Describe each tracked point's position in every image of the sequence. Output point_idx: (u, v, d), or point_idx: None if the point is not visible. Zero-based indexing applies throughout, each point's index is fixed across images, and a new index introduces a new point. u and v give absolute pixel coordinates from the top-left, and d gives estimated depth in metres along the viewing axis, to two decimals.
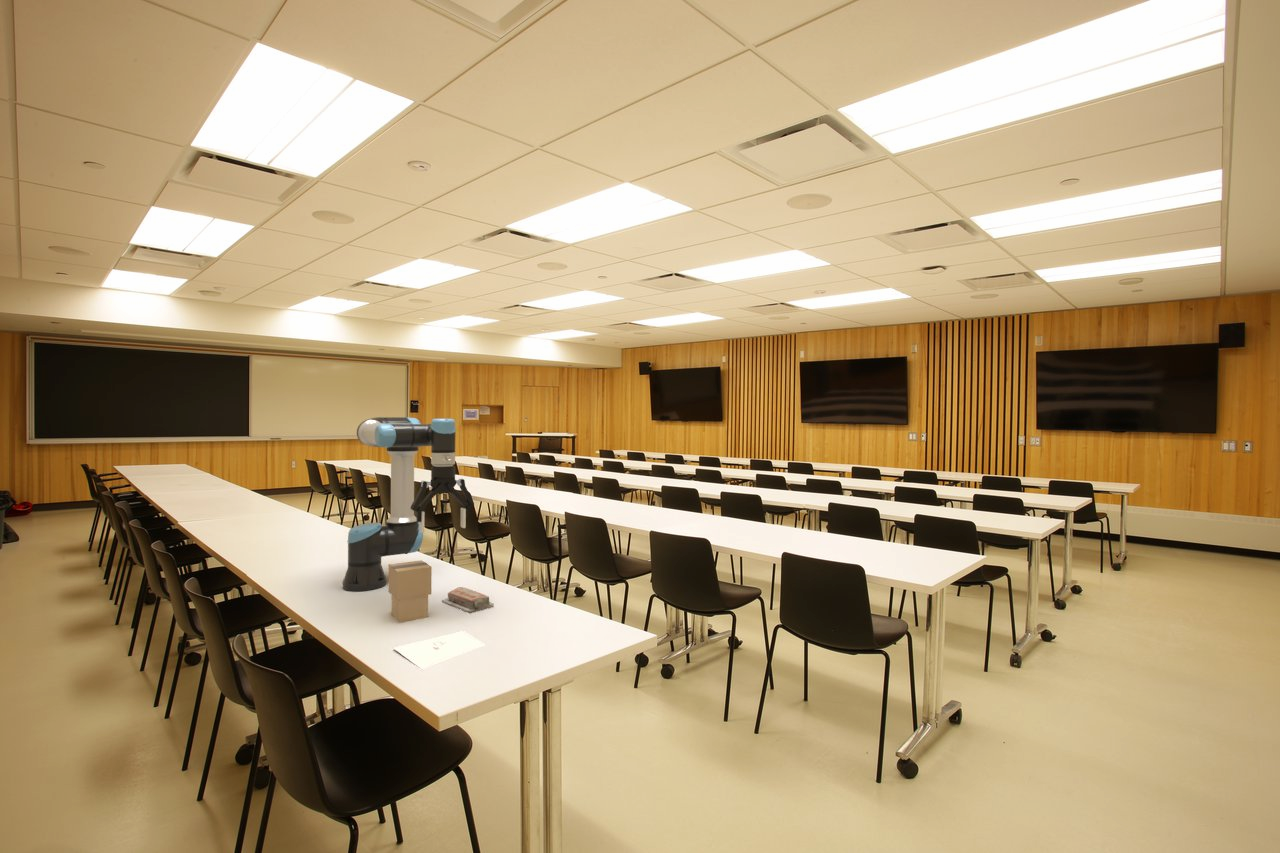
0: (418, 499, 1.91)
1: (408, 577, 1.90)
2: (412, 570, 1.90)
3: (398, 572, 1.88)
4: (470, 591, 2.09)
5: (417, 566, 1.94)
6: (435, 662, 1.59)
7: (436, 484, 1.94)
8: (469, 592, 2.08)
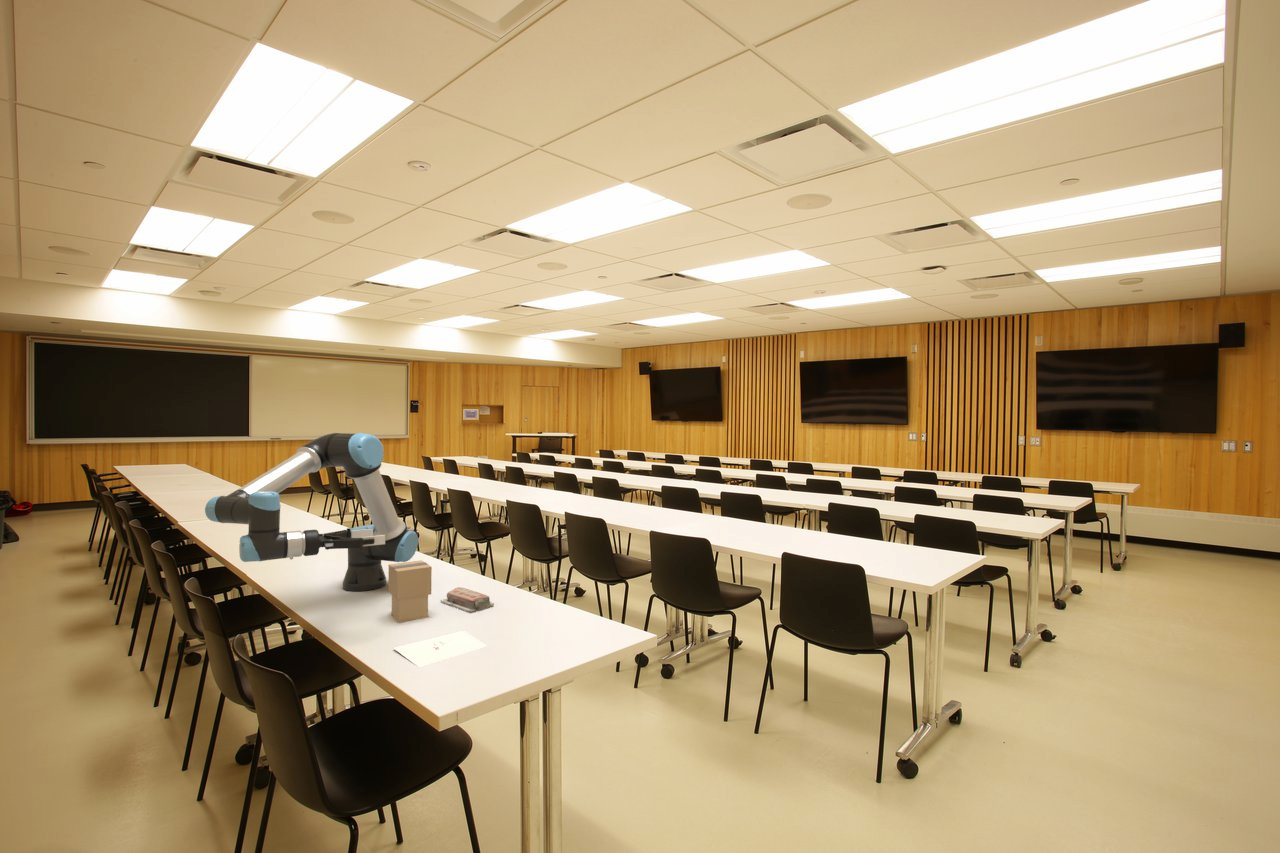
0: None
1: (408, 577, 1.90)
2: (412, 570, 1.90)
3: (398, 572, 1.88)
4: (469, 591, 2.09)
5: (417, 566, 1.94)
6: None
7: None
8: (468, 592, 2.08)
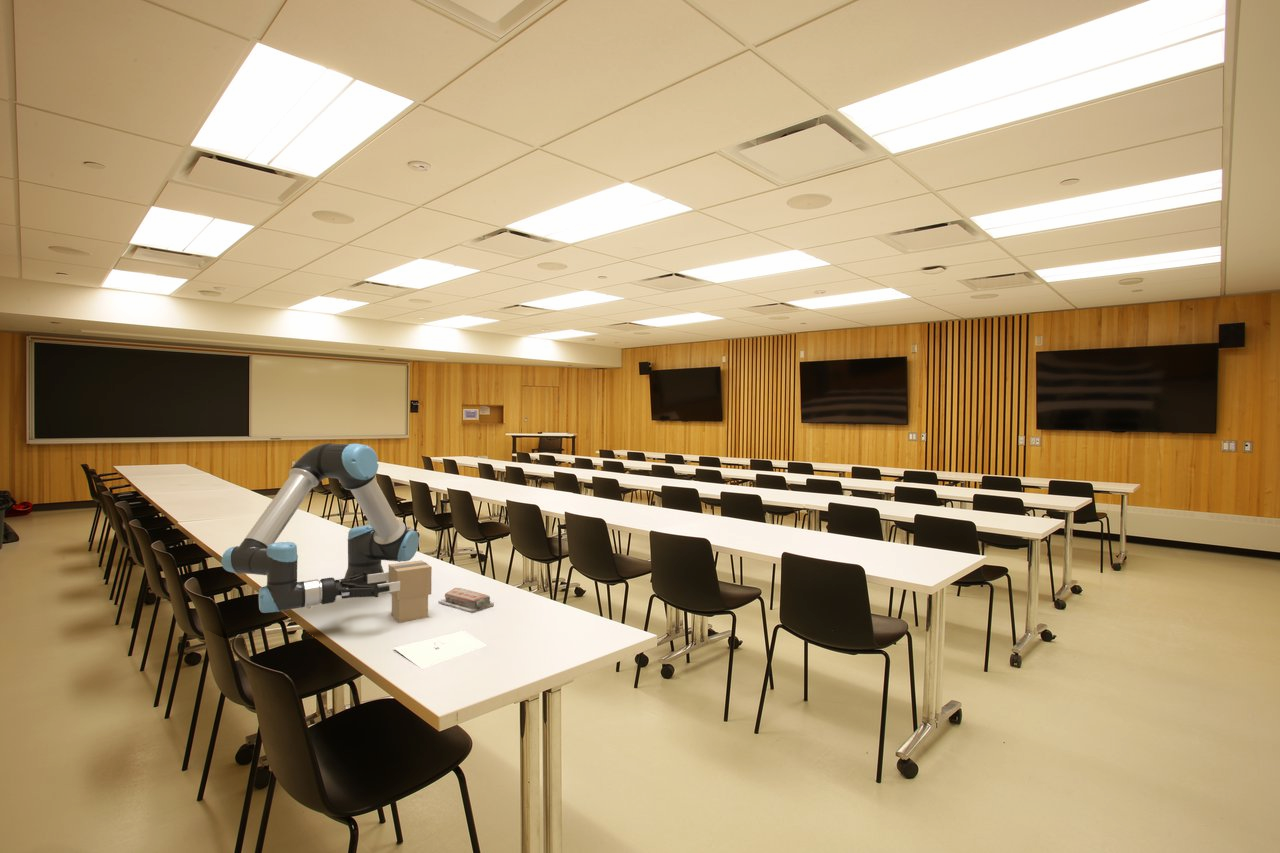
0: None
1: (408, 577, 1.90)
2: (412, 570, 1.90)
3: (398, 572, 1.88)
4: (468, 591, 2.09)
5: (417, 566, 1.94)
6: (435, 662, 1.59)
7: None
8: (468, 592, 2.08)
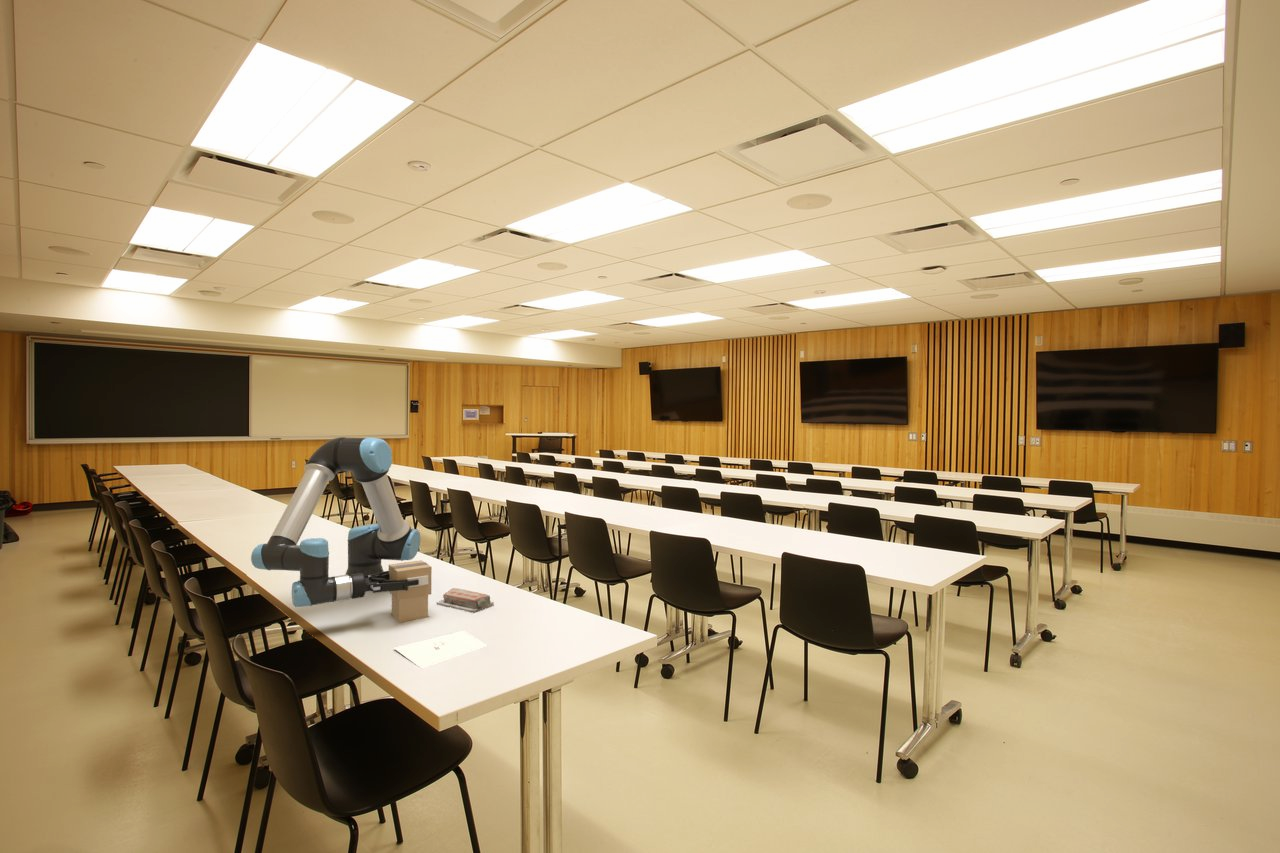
0: None
1: (408, 577, 1.90)
2: (412, 570, 1.90)
3: (398, 572, 1.88)
4: (467, 591, 2.09)
5: (417, 566, 1.94)
6: (436, 662, 1.59)
7: None
8: (467, 592, 2.08)
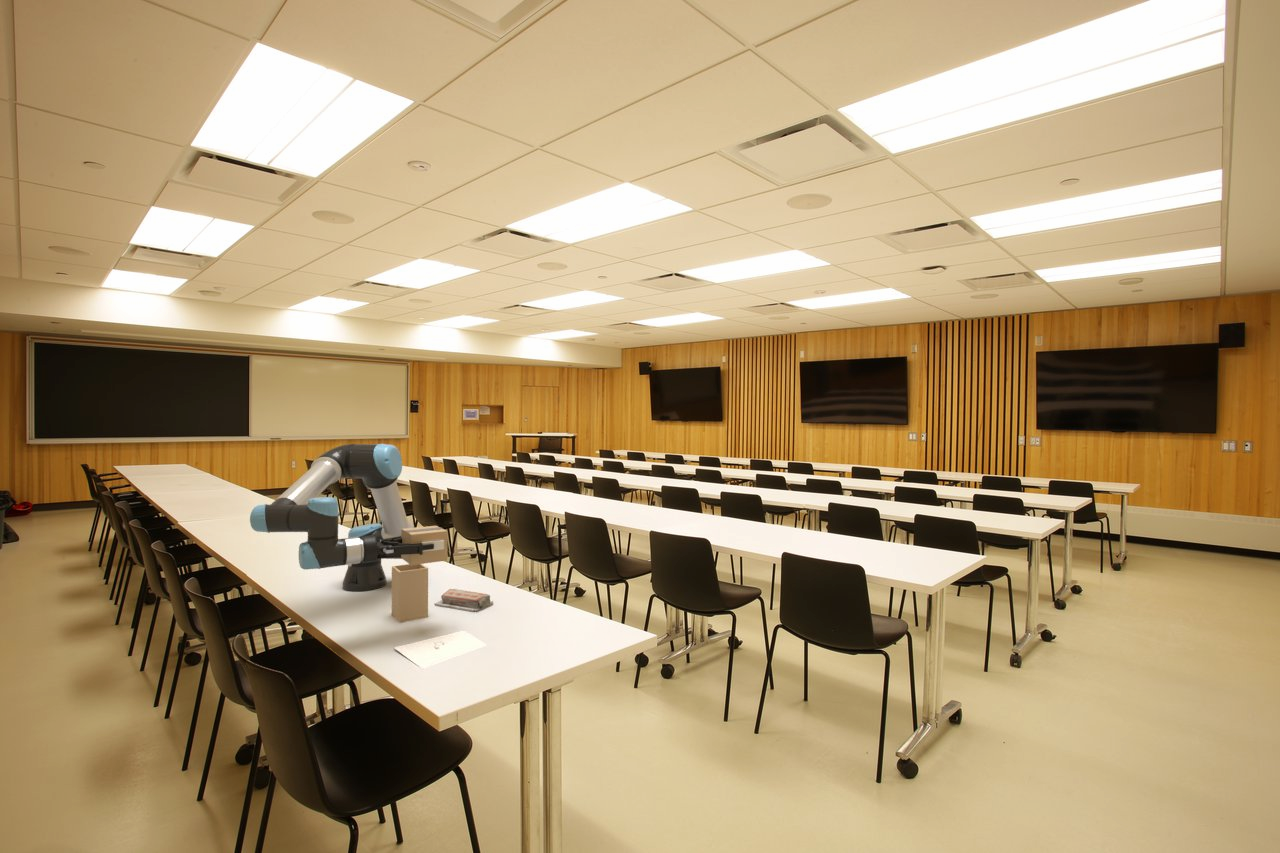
0: None
1: (423, 541, 1.77)
2: (427, 534, 1.78)
3: (412, 535, 1.75)
4: (466, 591, 2.08)
5: (432, 530, 1.82)
6: (436, 662, 1.59)
7: None
8: (466, 592, 2.07)
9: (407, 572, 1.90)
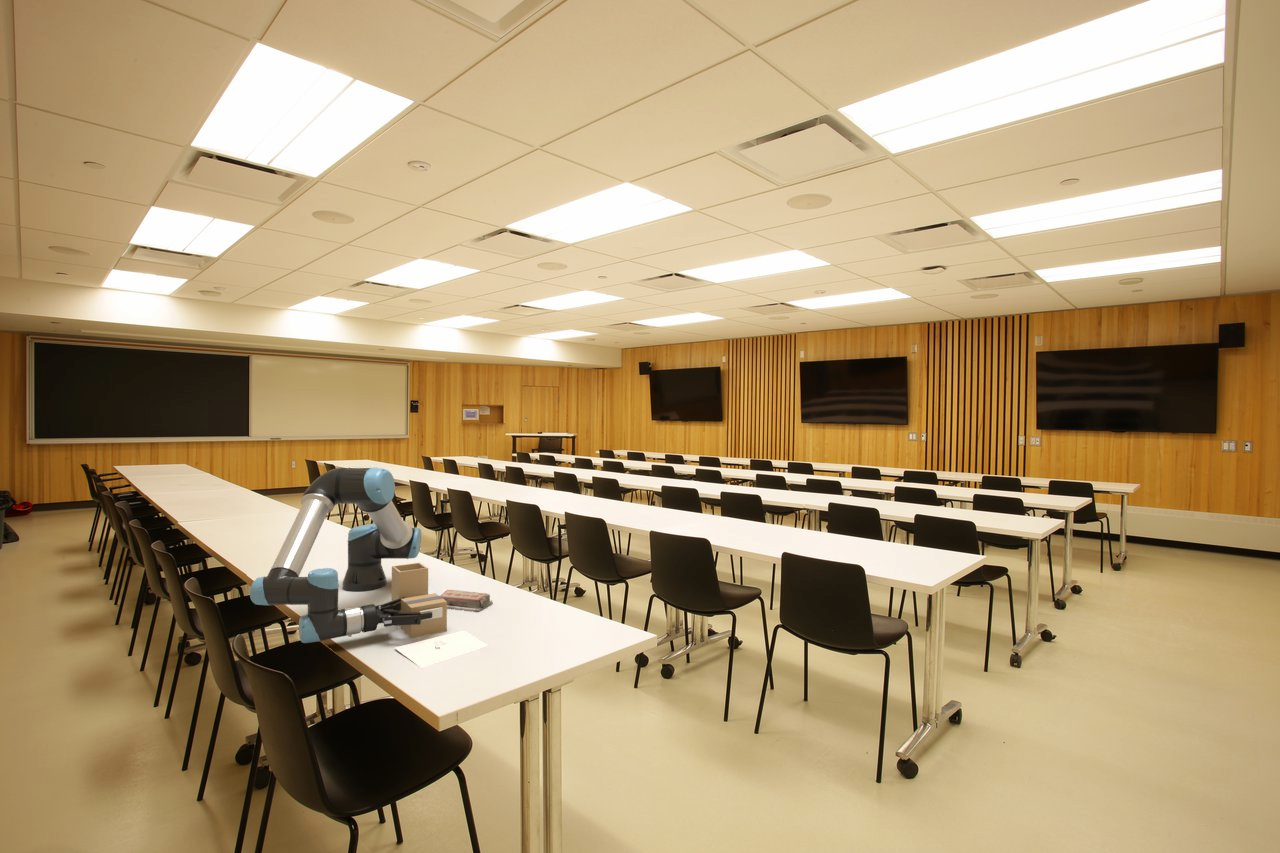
0: None
1: None
2: (426, 606, 1.78)
3: (412, 608, 1.76)
4: (464, 592, 2.08)
5: (431, 601, 1.82)
6: (436, 662, 1.59)
7: None
8: (465, 593, 2.07)
9: (407, 572, 1.90)
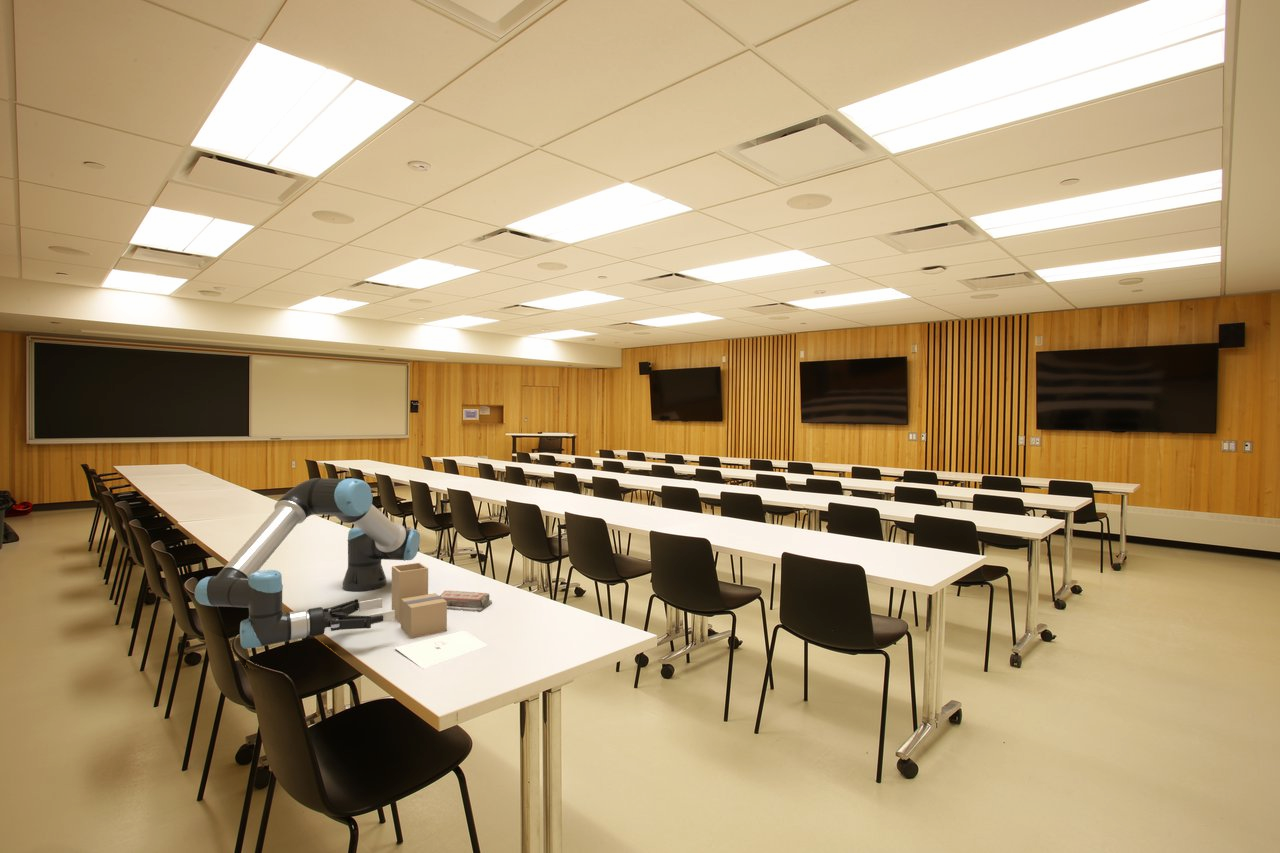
0: None
1: (422, 613, 1.78)
2: (426, 606, 1.78)
3: (412, 608, 1.76)
4: (463, 592, 2.08)
5: (431, 601, 1.82)
6: (436, 662, 1.59)
7: None
8: (464, 593, 2.07)
9: (407, 572, 1.90)
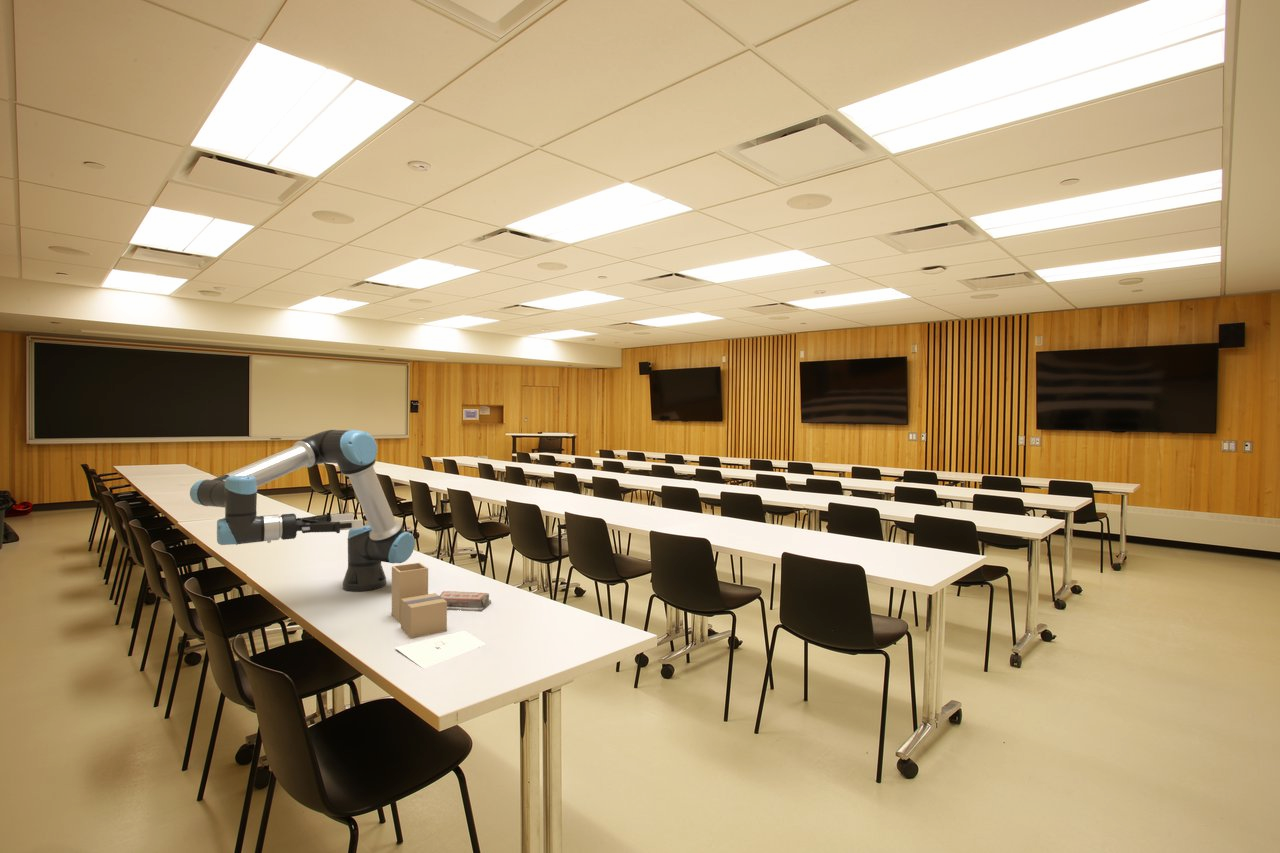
0: None
1: (422, 613, 1.78)
2: (426, 606, 1.78)
3: (412, 608, 1.76)
4: (462, 592, 2.07)
5: (431, 601, 1.82)
6: (437, 662, 1.59)
7: None
8: (463, 593, 2.07)
9: (407, 572, 1.90)
